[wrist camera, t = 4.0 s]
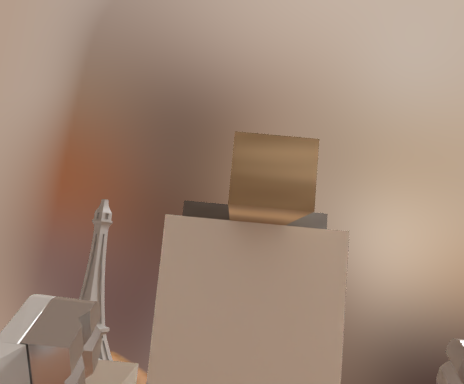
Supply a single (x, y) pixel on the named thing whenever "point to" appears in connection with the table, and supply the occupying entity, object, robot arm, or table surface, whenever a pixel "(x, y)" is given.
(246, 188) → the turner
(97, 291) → the eiffel tower
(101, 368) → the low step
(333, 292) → the tall stand
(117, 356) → the table surface
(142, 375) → the table surface
